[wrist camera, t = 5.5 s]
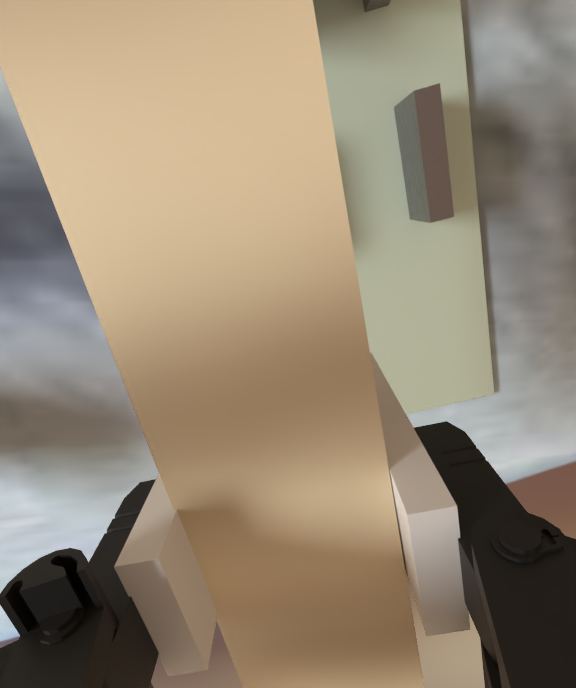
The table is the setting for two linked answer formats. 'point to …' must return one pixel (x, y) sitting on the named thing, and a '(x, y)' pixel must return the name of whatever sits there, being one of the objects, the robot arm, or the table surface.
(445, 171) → the open saddle
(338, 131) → the sage board
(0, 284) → the table surface
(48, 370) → the table surface
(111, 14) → the pine slat
